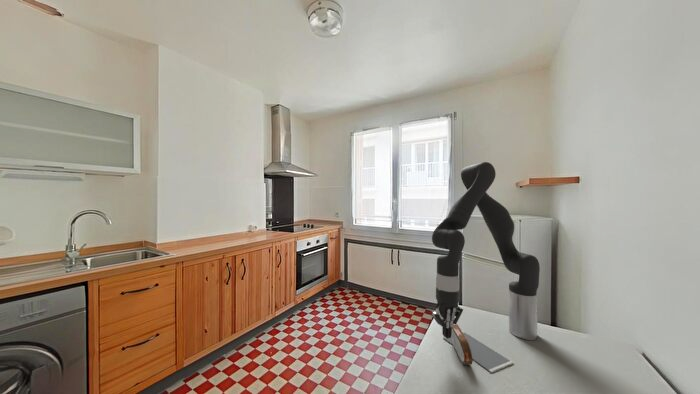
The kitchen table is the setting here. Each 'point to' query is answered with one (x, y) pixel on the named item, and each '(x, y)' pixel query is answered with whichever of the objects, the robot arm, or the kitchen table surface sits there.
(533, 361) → the kitchen table surface
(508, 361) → the mat
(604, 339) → the kitchen table surface
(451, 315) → the robot arm
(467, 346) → the tin
